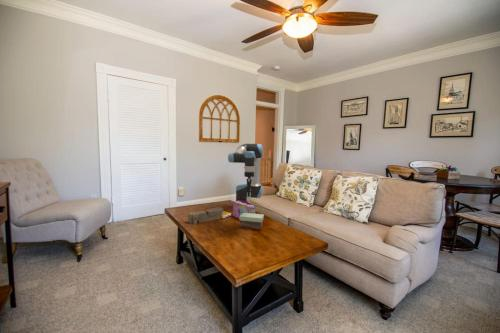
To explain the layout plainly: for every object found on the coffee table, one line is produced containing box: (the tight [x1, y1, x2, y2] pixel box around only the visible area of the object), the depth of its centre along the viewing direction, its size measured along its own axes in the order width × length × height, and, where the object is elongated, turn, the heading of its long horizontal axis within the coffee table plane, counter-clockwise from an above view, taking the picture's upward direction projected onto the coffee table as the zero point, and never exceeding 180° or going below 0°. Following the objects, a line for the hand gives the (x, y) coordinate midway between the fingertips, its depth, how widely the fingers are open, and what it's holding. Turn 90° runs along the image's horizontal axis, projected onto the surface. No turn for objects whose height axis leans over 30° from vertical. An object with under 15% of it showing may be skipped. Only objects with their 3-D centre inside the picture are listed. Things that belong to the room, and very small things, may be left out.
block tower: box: [187, 206, 224, 225], centre depth 189 cm, size 8×8×29 cm
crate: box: [240, 220, 264, 230], centre depth 174 cm, size 7×16×6 cm, turn 77°
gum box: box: [232, 200, 257, 220], centre depth 194 cm, size 24×8×14 cm, turn 40°
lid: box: [239, 213, 265, 222], centre depth 174 cm, size 10×17×4 cm, turn 77°
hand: (248, 199), depth 173 cm, fingers open, 13 cm apart
